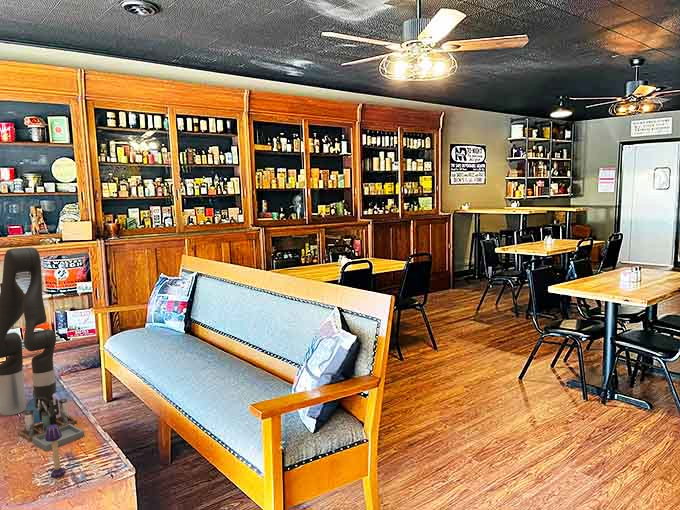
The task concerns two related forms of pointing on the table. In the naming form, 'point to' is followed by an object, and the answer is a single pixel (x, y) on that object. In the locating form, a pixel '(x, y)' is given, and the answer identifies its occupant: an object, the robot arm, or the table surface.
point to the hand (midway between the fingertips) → (48, 422)
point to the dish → (68, 435)
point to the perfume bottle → (32, 407)
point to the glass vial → (29, 423)
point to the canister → (64, 411)
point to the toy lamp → (55, 449)
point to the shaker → (45, 420)
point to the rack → (60, 424)
